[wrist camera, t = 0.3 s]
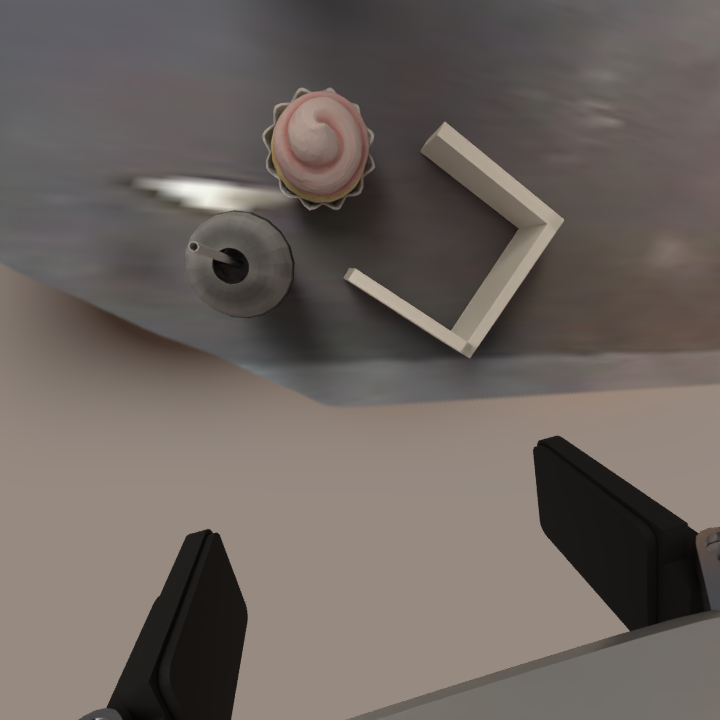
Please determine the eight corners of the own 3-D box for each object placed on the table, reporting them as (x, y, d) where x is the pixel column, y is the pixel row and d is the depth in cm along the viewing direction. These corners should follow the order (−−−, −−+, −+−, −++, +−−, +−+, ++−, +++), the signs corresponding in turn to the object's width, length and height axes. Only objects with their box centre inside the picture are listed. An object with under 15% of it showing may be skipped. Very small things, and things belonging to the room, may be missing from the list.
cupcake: (387, 163, 37) (415, 127, 27) (323, 237, 38) (329, 228, 28) (313, 84, 34) (315, 14, 25) (247, 166, 35) (224, 128, 26)
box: (426, 140, 37) (444, 121, 32) (533, 225, 40) (564, 219, 35) (343, 278, 39) (348, 280, 34) (451, 347, 42) (469, 358, 37)
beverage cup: (259, 317, 39) (211, 369, 19) (206, 260, 37) (95, 255, 17) (313, 270, 38) (319, 276, 19) (262, 210, 36) (212, 149, 17)
